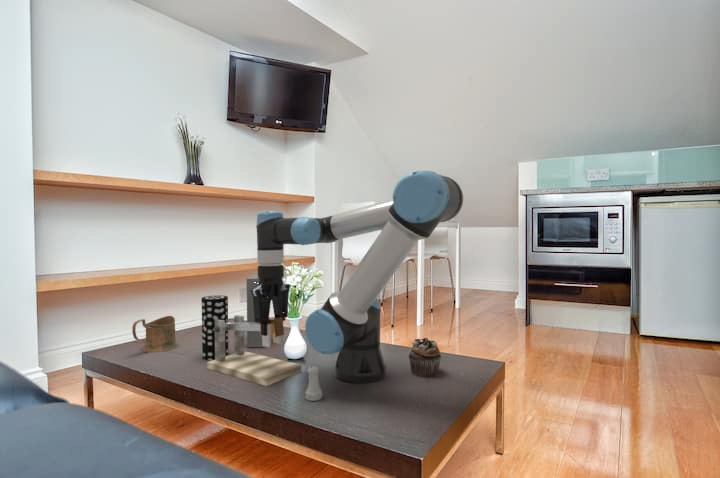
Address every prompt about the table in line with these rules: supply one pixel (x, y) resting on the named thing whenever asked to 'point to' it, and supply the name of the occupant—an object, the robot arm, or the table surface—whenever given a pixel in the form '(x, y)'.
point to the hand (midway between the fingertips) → (272, 344)
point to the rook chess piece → (313, 384)
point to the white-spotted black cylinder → (213, 323)
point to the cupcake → (424, 358)
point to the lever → (258, 326)
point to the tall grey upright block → (252, 313)
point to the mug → (158, 334)
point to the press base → (247, 360)
